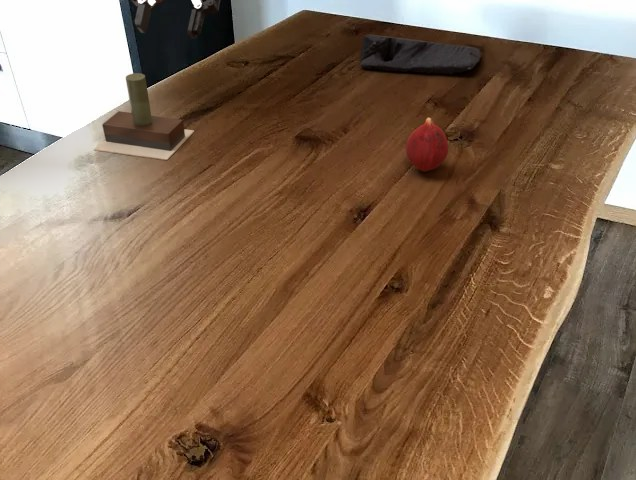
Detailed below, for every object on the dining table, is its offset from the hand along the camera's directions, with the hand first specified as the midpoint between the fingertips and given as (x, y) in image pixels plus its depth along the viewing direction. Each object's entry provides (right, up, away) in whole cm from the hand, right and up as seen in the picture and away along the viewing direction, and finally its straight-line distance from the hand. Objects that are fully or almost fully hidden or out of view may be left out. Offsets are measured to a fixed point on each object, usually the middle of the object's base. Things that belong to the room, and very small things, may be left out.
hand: (166, 33), depth 113 cm
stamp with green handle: (-3, -17, -1) cm, 17 cm away
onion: (+39, -23, -8) cm, 46 cm away
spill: (-3, -17, -1) cm, 17 cm away
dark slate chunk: (+43, +4, +25) cm, 49 cm away
